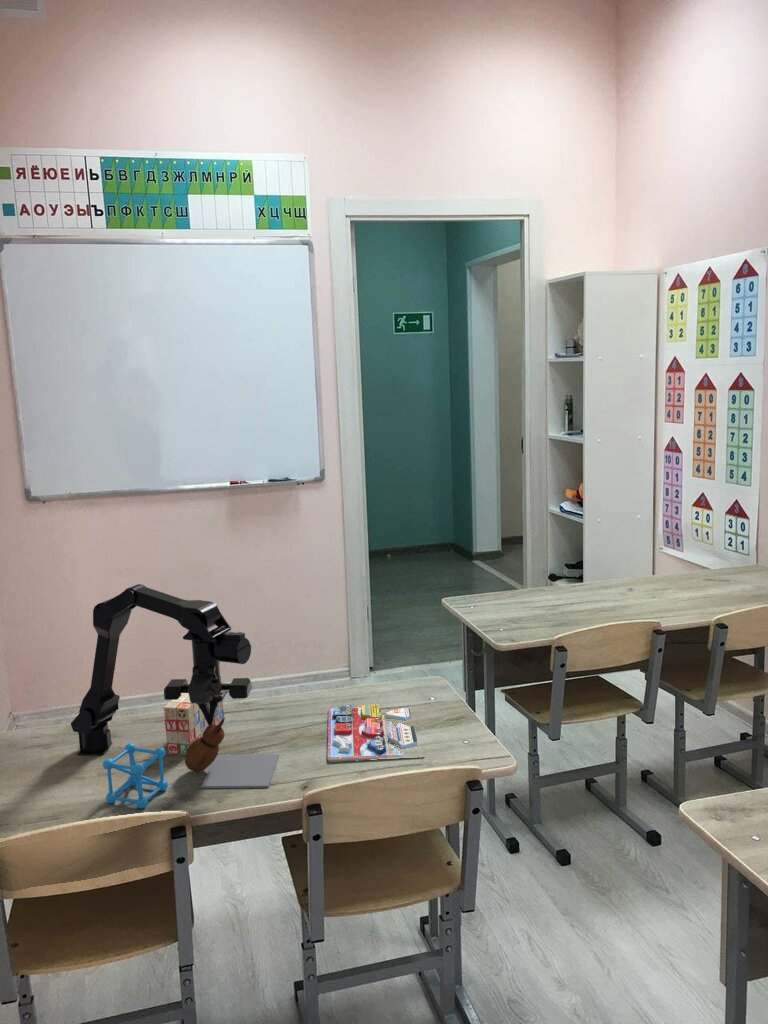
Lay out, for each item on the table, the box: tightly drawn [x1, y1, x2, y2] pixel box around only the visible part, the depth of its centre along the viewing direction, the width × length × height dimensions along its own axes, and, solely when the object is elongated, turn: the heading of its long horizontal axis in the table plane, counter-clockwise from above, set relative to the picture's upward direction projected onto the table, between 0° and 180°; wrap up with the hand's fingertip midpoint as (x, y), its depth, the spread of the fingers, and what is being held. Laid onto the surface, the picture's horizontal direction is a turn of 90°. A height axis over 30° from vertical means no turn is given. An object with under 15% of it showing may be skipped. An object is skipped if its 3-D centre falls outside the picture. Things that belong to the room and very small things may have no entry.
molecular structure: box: [102, 742, 169, 809], centre depth 181 cm, size 10×10×10 cm
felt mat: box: [200, 753, 280, 789], centre depth 191 cm, size 15×15×1 cm
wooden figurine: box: [184, 716, 226, 773], centre depth 190 cm, size 7×6×15 cm
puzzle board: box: [327, 703, 418, 763], centre depth 210 cm, size 30×23×3 cm
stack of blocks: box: [163, 693, 225, 756], centre depth 210 cm, size 21×6×12 cm, turn 169°
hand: (210, 724), depth 189 cm, fingers closed
